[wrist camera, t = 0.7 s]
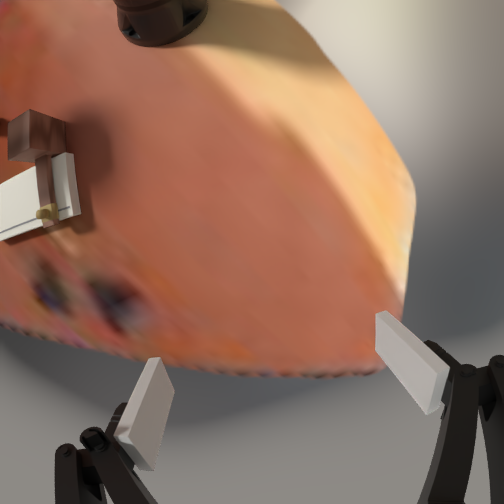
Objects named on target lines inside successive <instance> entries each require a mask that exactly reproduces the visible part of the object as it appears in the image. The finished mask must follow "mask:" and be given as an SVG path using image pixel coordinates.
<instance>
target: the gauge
mask: <svg viewBox="0 0 504 504" xmlns="http://www.w3.org/2000/svg"><path fill="white" fill-rule="evenodd" d="M65 152H66V139H65V122H64V121H62V120H59V119H56V118H53V117H51V116H48V115H45V114H42V113H39V112H37V111H34V110H31V109H29V110H27V111H26V112H24V113H23V114H21V115H19V116H18V117H16V118H15V119H13V120H12V121H10V122H9V123H8V160H12V161H23V162H33V163H35V166H36V178H37V188H38V196H39V203H40V210H37V211H36V218H37V219H41V220H42V223H43V228H46V227H50V226H53V225H56V224H60V222H59V213H58V207H57V203H56V198H55V190H54V182H53V173H52V161H51V158H53V157H56V156H58V155H60V154H63V153H65Z"/></svg>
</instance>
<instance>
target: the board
mask: <svg viewBox="0 0 504 504" xmlns="http://www.w3.org/2000/svg"><path fill="white" fill-rule="evenodd" d="M51 161H52V173H53V182H54V190H55V198H56V203H57V207H58V213H59V221H60V220H63V219H67V218H70V217H73V216H76V215H80V214H81V209H80V203H79V196H78V190H77V182H76V174H75V165H74V154H71V153H66V152H65V153H63V154H60V155H58V156H56V157H53V158H51ZM37 210H40V203H39V196H38V188H37V178H36V166H34V167H32V168H30V169H28V170H26V171H24V172H22V173H20V174H18V175H17V176H15V177H13V178H11V179H9V180H7V181H6V182H4V183H2V184H0V241H3V240H6V239H8V238H11V237H14V236H16V235H19V234H22V233H25V232H27V231H30V230H33V229H36V228H39V227H42V226H43V223H42V220H41V219H37V218H36V211H37Z"/></svg>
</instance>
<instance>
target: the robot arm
mask: <svg viewBox="0 0 504 504" xmlns="http://www.w3.org/2000/svg"><path fill="white" fill-rule="evenodd" d="M113 1H114V2H115V4H116V5H117V17H118V26H119V29H120V31H121V32H122V34H123V35H124V36H125V38H126V39H127V40H128V41H130V42H131V43H133V44H136V45H139V46H159V45H164V44H168V43H171V42H174V41H176V40H178V39H180V38H182V37H184V36H186V35H188V34H189V33H191V32H192V31H193V30H194V29H196V28H197V27H198V26H199V25H200V24H201V22H202V21H203V20H204V18H205V16H206V14H207V10H208V3H207V0H113ZM375 351H376V352H377V353H378V354H379V356H380V357H381V358H382V359H383V361H384V362H385V363H386V364H387V366H388V367H389V368H390V369H391V370H392V372H393V373H394V374H395V376H396V377H397V378H398V379H399V381H400V382H401V383H402V384H403V386H404V387H405V388H406V389H407V391H408V392H409V393H410V395H411V396H412V397H413V399H414V400H415V401H416V402H417V404H418V405H419V406H420V408H421V409H422V410H423V411H424V413H425V414H426V415H428V414H430V413H432V412H434V411H436V410H438V409H439V406H440V403H441V401H442V402H443V403H444V404H445V407H444V410H443V413H442V416H441V419H442V421H441V426H440V431H439V435H438V439H437V443H436V448H435V451H434V455H433V459H432V462H431V465H430V469H429V472H428V475H427V478H426V481H425V484H424V487H423V490H422V492H421V495H420V498H419V500H418V503H417V504H465V503H464V497H465V493H466V489H467V484H468V480H469V475H470V470H471V465H472V459H473V453H474V446H475V439H476V429H477V418H478V410H479V415H480V419H481V424H482V429H483V434H484V439H485V446H486V452H487V460H488V468H489V479H490V496H491V504H504V356H503V355H496V356H494V357H492V358H491V359H490V362H489V365H488V366H485V367H481V368H476V367H475V366H473V365H470V364H463V365H461V364H460V363H459V362H458V361H457V360H455V359H454V358H453V357H452V356H451V355H450V354H448V353H446V351H445V350H444V349H442V347H440V346H439V345H438V344H437V343H435V342H432V341H430V340H427V341H425V342H422V341H421V340H420V339H418V338H417V337H416V336H415V335H414V334H413V333H412V332H411V331H409V330H408V329H407V328H406V327H405V326H404V325H403V324H401V323H400V322H399V321H398V320H397V319H396V318H395V317H393V316H392V315H391V314H390V313H389V312H388V311H383V312H379V313H376V343H375ZM174 392H175V391H174V388H173V387H172V384H171V382H170V379H169V377H168V375H167V372H166V370H165V367H164V365H163V363H162V360H161V358H160V357H156V358H149V359H148V361H147V363H146V365H145V368H144V370H143V372H142V374H141V376H140V378H139V380H138V382H137V384H136V387H135V389H134V391H133V393H132V395H131V397H130V399H129V402H128V403H121V404H120V405H119V406H118V407H117V408H116V410H115V412H114V414H113V416H112V418H111V422H109V425H108V427H107V429H106V431H105V433H104V432H103V431H102V430H101V428H98V427H90V428H88V429H86V430H84V431H83V432H82V433H81V435H80V442H81V443H82V444H83V446H84V447H85V448H86V449H79V450H77V449H76V448H75V446H74V445H72V444H69V443H68V444H63V445H61V446H60V447H58V449H57V450H56V453H55V504H107V499H106V495H105V490H104V486H105V488H106V490H107V492H108V494H109V496H110V497H111V499H112V501H113V503H114V504H158V503H157V502H156V500H155V499H154V498H153V496H152V495H151V494H150V492H149V491H148V490H147V488H146V487H145V486H144V484H143V483H142V481H141V480H140V478H139V477H138V475H137V474H136V473H135V471H134V470H133V468H134V464H135V465H136V466H137V467H138V468H139V469H140V470H146V471H154V468H155V464H156V460H157V456H158V451H159V448H160V444H161V440H162V436H163V432H164V429H165V425H166V421H167V417H168V414H169V410H170V406H171V403H172V399H173V395H174Z"/></svg>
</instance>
